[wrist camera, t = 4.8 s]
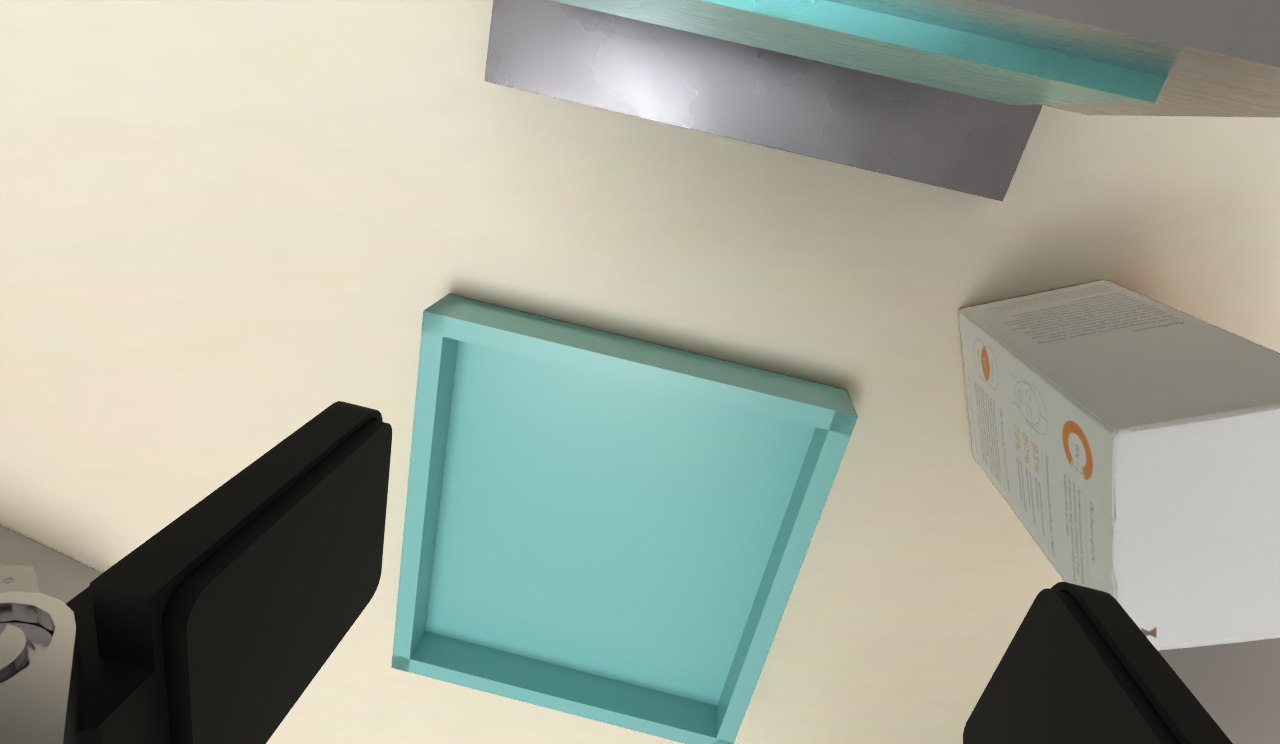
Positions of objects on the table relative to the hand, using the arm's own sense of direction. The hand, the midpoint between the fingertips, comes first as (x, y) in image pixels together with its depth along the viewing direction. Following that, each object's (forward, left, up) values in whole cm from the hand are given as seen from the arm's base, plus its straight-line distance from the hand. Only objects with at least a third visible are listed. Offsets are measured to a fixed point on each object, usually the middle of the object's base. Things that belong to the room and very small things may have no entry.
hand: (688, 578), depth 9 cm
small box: (-16, +2, -23) cm, 28 cm away
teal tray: (+2, +16, -23) cm, 28 cm away
